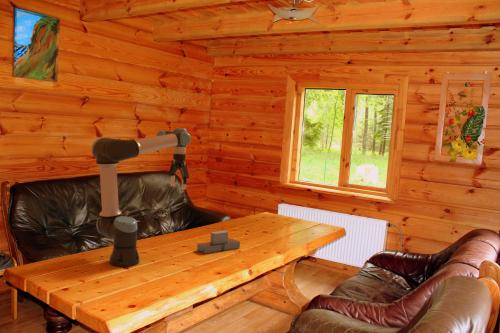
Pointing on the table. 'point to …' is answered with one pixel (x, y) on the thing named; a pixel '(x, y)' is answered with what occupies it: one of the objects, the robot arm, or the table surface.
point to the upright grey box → (219, 237)
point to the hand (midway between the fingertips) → (177, 187)
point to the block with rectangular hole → (217, 246)
